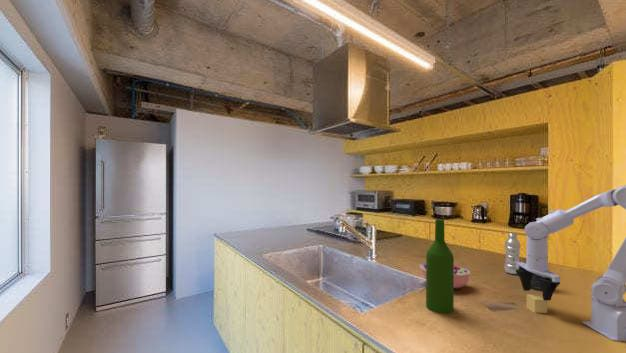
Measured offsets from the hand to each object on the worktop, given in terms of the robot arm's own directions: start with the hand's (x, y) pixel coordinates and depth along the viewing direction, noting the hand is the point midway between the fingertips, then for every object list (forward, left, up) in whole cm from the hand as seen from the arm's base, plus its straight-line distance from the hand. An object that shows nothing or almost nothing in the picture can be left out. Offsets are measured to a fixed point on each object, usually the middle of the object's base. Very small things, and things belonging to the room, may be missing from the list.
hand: (536, 294), depth 94 cm
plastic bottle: (+41, -18, -7) cm, 45 cm away
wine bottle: (0, +33, -7) cm, 34 cm away
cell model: (+21, +23, -7) cm, 32 cm away
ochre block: (0, 0, -7) cm, 7 cm away
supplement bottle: (+21, -15, -7) cm, 27 cm away
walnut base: (-1, +10, -7) cm, 12 cm away
